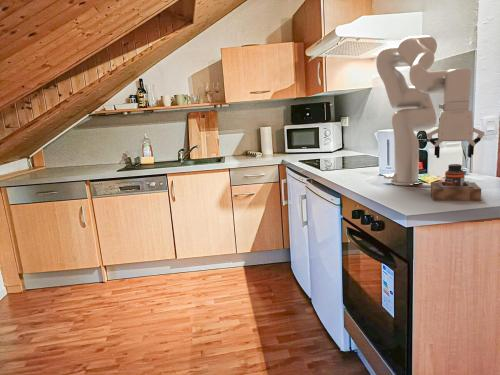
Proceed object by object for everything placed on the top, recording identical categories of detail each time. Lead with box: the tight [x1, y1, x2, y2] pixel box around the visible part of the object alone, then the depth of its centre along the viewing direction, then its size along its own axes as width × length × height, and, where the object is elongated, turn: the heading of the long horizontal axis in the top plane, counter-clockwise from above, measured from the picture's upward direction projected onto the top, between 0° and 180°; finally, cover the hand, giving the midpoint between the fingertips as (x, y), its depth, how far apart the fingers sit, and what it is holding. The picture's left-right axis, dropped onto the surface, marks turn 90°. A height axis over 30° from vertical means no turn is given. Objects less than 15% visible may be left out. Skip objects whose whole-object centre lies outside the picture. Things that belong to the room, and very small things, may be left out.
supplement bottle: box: [444, 163, 466, 186], centre depth 125 cm, size 6×6×11 cm
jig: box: [430, 180, 482, 202], centre depth 125 cm, size 14×12×5 cm
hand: (453, 157), depth 124 cm, fingers open, 9 cm apart
